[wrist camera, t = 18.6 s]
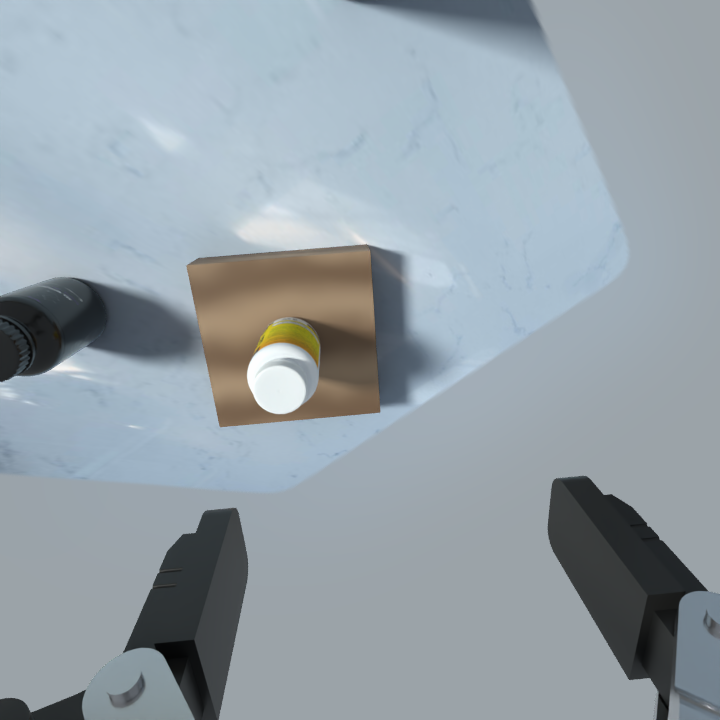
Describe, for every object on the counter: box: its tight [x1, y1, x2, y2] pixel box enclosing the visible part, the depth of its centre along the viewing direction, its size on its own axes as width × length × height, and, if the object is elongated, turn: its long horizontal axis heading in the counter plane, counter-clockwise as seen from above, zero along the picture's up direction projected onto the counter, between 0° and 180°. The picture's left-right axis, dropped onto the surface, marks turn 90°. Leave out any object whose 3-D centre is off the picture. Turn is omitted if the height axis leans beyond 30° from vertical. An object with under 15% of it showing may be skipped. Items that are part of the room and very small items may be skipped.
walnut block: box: [186, 245, 380, 427], centre depth 45 cm, size 16×16×4 cm
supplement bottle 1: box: [0, 277, 106, 382], centre depth 40 cm, size 7×7×12 cm
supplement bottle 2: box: [247, 317, 320, 414], centre depth 39 cm, size 6×6×10 cm
